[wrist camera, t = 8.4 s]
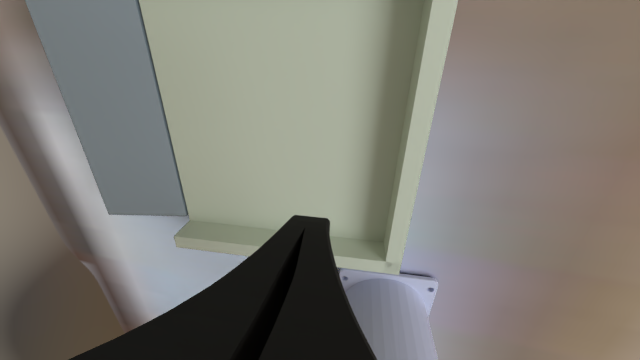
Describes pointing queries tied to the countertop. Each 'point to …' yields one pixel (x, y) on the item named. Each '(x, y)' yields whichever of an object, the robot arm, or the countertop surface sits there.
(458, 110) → the countertop surface
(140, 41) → the panel
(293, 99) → the tray
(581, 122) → the countertop surface
